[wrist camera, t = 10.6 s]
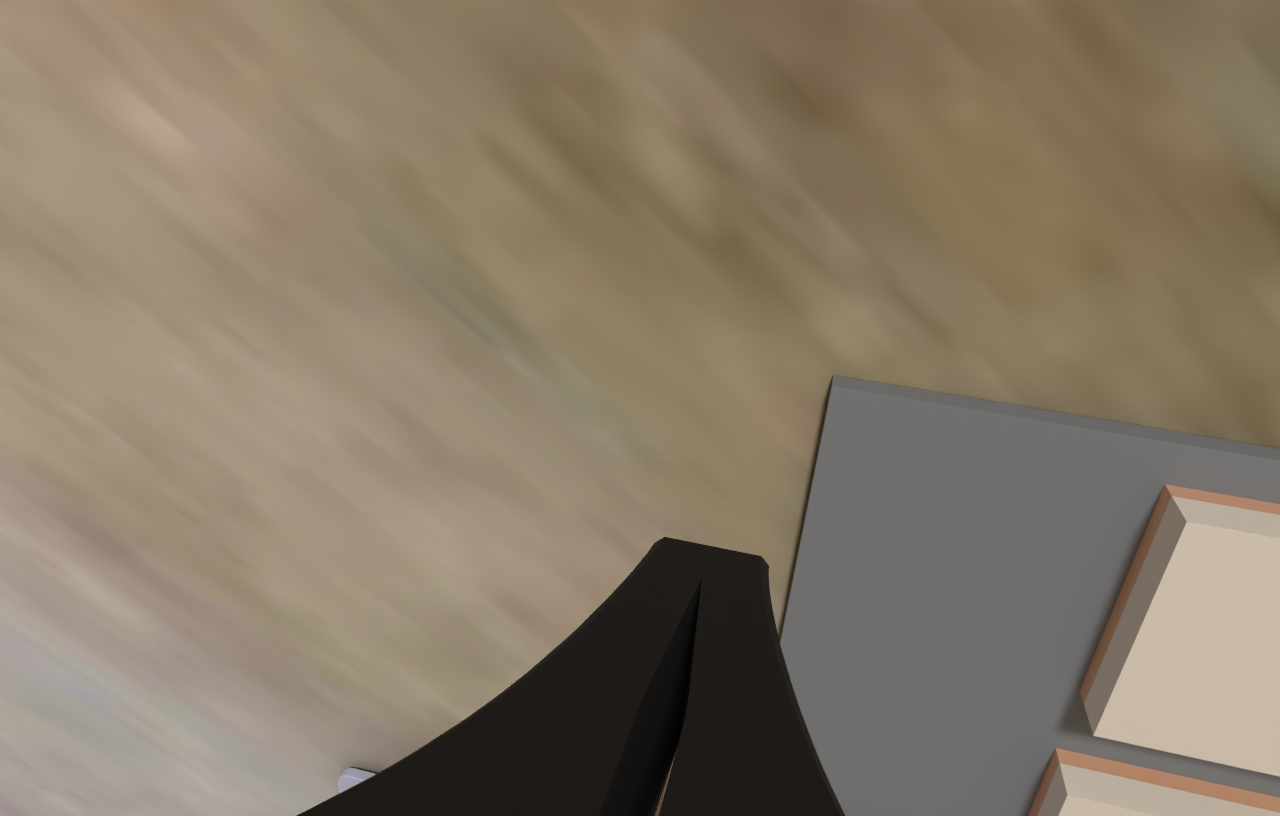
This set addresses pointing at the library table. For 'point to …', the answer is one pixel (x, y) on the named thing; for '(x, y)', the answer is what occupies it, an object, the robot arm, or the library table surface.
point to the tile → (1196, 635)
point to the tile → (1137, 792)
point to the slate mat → (976, 591)
